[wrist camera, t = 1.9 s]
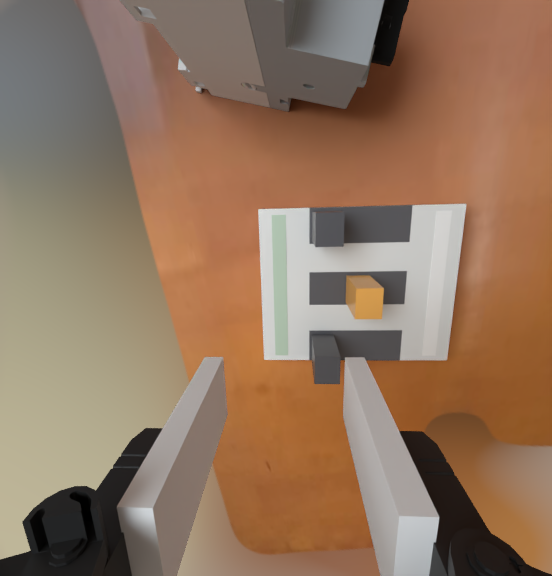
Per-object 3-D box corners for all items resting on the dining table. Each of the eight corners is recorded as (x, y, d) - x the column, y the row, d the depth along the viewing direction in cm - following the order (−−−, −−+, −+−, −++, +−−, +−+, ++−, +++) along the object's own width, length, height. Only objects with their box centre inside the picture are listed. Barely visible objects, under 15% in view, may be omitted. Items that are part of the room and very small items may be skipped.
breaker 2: (333, 334, 29) (340, 356, 24) (333, 358, 29) (339, 384, 25) (311, 334, 29) (314, 356, 24) (311, 358, 29) (314, 383, 25)
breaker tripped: (369, 275, 27) (384, 288, 23) (368, 301, 28) (381, 319, 23) (346, 275, 27) (356, 288, 23) (345, 301, 28) (354, 319, 23)
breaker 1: (336, 211, 26) (344, 212, 22) (335, 240, 26) (343, 246, 22) (312, 211, 26) (315, 212, 22) (312, 240, 26) (315, 247, 22)
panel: (448, 204, 28) (466, 203, 25) (432, 346, 32) (447, 360, 29) (261, 208, 29) (258, 209, 26) (266, 346, 33) (264, 360, 30)
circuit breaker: (357, 126, 27) (431, 33, 12) (196, 92, 27) (84, -41, 12) (382, 25, 25) (505, -222, 11) (209, -11, 25) (94, -310, 11)
